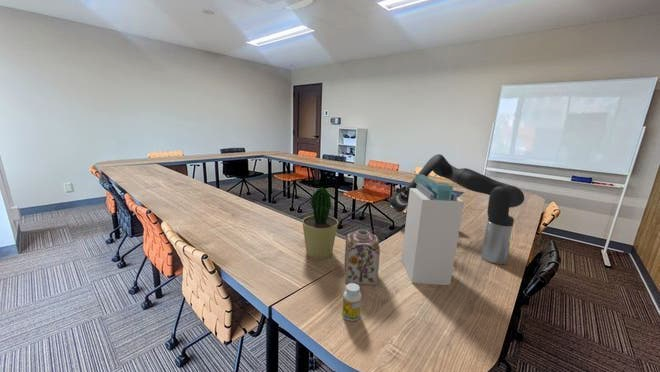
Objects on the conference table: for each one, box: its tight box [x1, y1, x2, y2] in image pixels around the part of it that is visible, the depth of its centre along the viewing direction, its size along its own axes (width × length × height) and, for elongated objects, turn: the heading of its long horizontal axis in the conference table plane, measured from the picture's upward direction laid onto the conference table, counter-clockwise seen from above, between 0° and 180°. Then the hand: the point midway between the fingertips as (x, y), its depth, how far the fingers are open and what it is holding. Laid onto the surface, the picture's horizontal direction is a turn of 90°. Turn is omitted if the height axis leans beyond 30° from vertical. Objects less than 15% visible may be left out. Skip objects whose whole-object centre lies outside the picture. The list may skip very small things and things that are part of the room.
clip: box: [414, 173, 454, 201], centre depth 101 cm, size 28×5×5 cm, turn 178°
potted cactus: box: [301, 187, 339, 260], centre depth 112 cm, size 15×15×30 cm
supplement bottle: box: [341, 283, 362, 322], centre depth 78 cm, size 5×5×10 cm
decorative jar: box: [344, 229, 381, 286], centre depth 97 cm, size 12×12×18 cm
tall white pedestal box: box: [400, 184, 465, 286], centre depth 100 cm, size 16×14×34 cm
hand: (414, 188), depth 121 cm, fingers open, 8 cm apart
